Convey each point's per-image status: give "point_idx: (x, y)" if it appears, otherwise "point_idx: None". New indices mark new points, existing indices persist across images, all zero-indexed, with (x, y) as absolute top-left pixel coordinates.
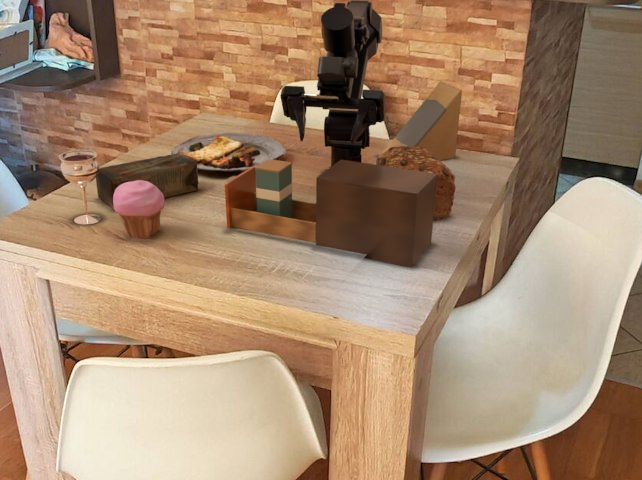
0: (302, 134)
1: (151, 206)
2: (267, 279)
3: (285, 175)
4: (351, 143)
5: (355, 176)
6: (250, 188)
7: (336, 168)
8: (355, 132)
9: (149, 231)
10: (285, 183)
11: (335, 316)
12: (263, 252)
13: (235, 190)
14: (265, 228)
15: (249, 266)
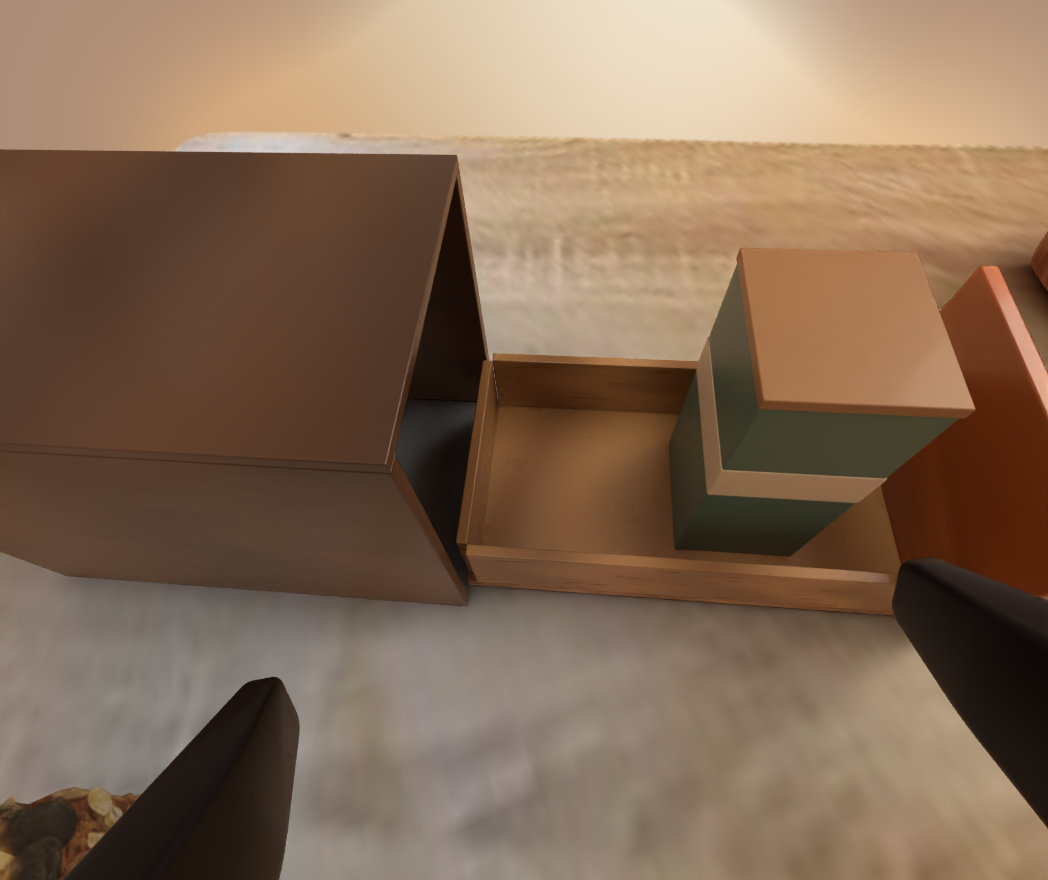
0: (935, 583)
1: None
2: (553, 207)
3: (734, 353)
4: (292, 709)
5: (239, 224)
6: (988, 535)
7: (378, 294)
8: (170, 777)
9: (1045, 241)
10: (720, 379)
11: (346, 138)
12: (646, 322)
13: (964, 366)
14: None
15: (635, 243)
